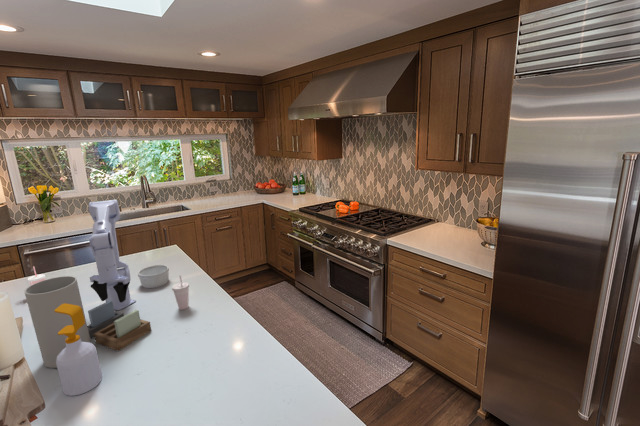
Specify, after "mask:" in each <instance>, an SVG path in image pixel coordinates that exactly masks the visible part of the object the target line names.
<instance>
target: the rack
mask: <svg viewBox="0 0 640 426" xmlns="http://www.w3.org/2000/svg"><path fill="white" fill-rule="evenodd" d="M140 321H141V325H140V326H139V327H137V328H135V329H134V330H132V331H130V332H128V333H127V334H125V335H123V336H122V337H120V338H118V339H117V334H116V330H115V325H114V323H112V324H111V325H109V326H107V327H105V328H103V329H101V330H99V331H98V332H96V333H94V338H93V339H94V342H95V343H96V344H98V345H101V346H104V347H106V348H109V349H112V350H114V351H117V352H120V351H121V350H123V349H124V348H126V347H127V346H129V345H131V344H132V343H134V342H135V341H137V340H138V339H141V338H142V337H143V336H145V335H147V334H148V333H150V332H151V331H152V326H151V322H150V321H148V320H145V319H141V318H140Z"/></svg>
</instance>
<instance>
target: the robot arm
mask: <svg viewBox="0 0 640 426" xmlns="http://www.w3.org/2000/svg"><path fill="white" fill-rule="evenodd" d="M88 211H89V212H88V213H89V215H90V216H91V219H92V220H93V222H94V223H93V224H92V235H91V236H90V235H89V238H88V240H89V245H90V249H91V252H92V255H93V257H94V259H95V263H96V269H97V274H94V275H92V276H89V282H90V283H92V284H90V288H91V289H93V290H94V291H95V293H96V294H97V295H98V297H99V299H100V301H101V302H104V301H105V303H106V302H108V301H113V306H114V311H121V310H123V309H124V308H126V307H128V306H130V305H133V304H134V303H136V302H137V300H136V299H132V298H131V294H130V290H129V289H130V288H129V285H130V283H131V279H132V278H131V273H130V268H129V264H127V262H125V261H122V260H120V252H119V245H118V240H117V231H116V222H118V221H119V220H120V219H121V215H120V214H121V213H120V206H119V201H118V200H117V199H115V198H114V199H110V200H109V199H108V200H100V201H90V202H89V203H88Z"/></svg>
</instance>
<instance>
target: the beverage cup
mask: <svg viewBox="0 0 640 426" xmlns="http://www.w3.org/2000/svg"><path fill="white" fill-rule="evenodd" d="M32 268H33V272H34V275H31V276H29V277H28V278H27V281H28V283H29V286H31V285H33V284H35V283H38V282H40V281H43V280H46V274H45V273H44V274H43V273H41V274H37V272H36V267H35V265H33V266H32Z"/></svg>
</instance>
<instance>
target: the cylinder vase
mask: <svg viewBox="0 0 640 426" xmlns="http://www.w3.org/2000/svg"><path fill="white" fill-rule="evenodd" d="M23 291H24V296H25V298H26V302H27V306H28V311H29V313H30V317H31V322H32V326H33V329H34V332H35V337H36V341H37V342H38V347H39V350H40V354H41V358H42V361H43V365H44V366H45V367H46V368H49V369H57V365H56V359H57V356H58V355H59V353H60V352H61V351H62V350H63V349H65V348H66V343H65V340H66V339H67V338H68V336H65V335H58V332H59V331H60V330H61V329H63V328H64V327H65V326H68V325H73V322H72V318H71V317H70V316H69V315H67V314H62V313H56V312H55V309H56V308H58V307H59V306H60V305H62V304H64V303H67V304H72V305H78V306H80V307H81V308H82V310H83V315H84V319H85V324H84V325H83V326H82V327H81V328H80V329H79V330H77V333H75V334H76V335H80V339H81V342H89V343H92V340H91V338H90V336H89V332H88V327H87V326H88V324H87V319H86V314H85V310H84V306H83V302H82V297H81V293H80V289H79V284H78V280H77V277H76V276H73V275H64V276H63V275H62V276H56V277H51V278H46V279H45V280H43V281H40V282H38V283H35V284H33V285H31V286H30V285H29V286H28V287H26V288H25V290H23Z"/></svg>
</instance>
